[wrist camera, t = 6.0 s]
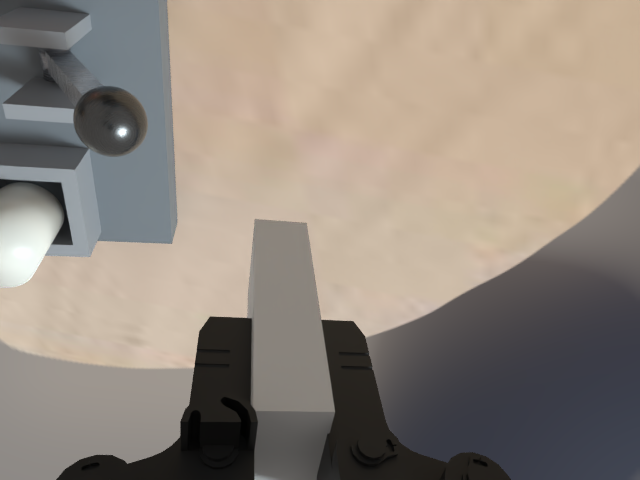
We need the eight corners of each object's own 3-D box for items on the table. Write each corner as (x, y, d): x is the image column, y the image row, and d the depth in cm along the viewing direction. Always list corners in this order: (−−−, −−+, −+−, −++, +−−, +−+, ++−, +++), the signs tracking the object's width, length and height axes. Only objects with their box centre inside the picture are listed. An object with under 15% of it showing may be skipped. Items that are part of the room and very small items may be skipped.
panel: (-110, -246, 24) (-238, -292, 17) (157, -202, 25) (125, -230, 19) (11, 214, 38) (-36, 276, 32) (177, 221, 39) (162, 282, 33)
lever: (17, 27, 27) (79, 103, 19) (77, 26, 29) (155, 96, 21) (28, 83, 29) (90, 173, 21) (84, 79, 30) (160, 161, 23)
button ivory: (-14, 180, 30) (-57, 226, 26) (58, 184, 30) (27, 230, 26) (2, 236, 32) (-36, 286, 28) (69, 238, 33) (42, 288, 29)
